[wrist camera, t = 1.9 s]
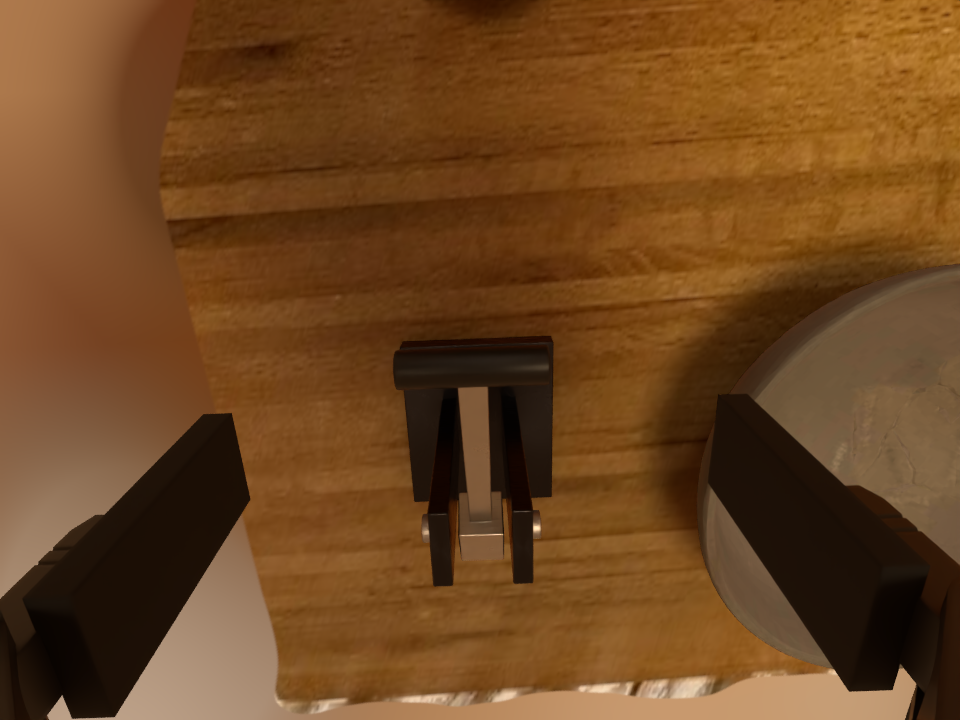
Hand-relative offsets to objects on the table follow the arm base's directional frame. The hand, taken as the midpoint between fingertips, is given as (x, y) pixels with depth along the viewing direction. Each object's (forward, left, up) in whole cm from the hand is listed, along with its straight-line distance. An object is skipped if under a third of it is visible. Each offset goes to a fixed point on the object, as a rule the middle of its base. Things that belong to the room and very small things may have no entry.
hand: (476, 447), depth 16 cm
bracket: (+6, -9, -23) cm, 25 cm away
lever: (+3, -4, -9) cm, 11 cm away
